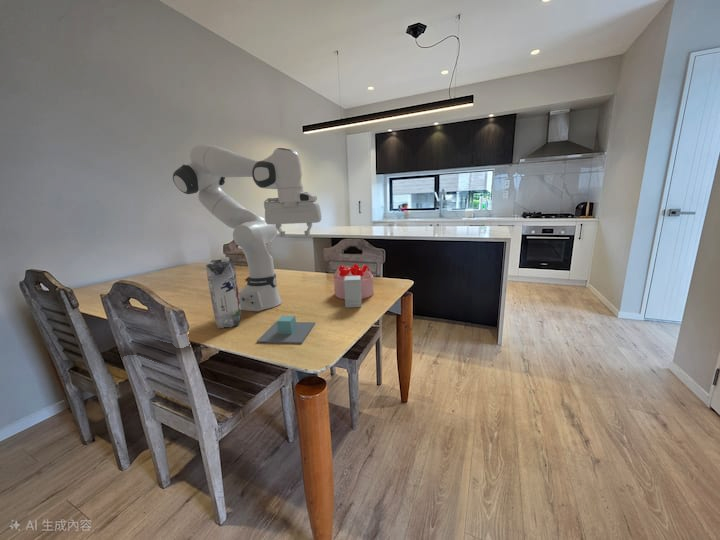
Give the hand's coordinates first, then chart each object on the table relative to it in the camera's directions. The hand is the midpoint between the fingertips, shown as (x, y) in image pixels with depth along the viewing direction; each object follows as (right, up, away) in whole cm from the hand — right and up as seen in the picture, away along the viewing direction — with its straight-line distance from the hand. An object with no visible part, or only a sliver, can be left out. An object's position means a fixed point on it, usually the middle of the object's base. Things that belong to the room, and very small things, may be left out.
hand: (294, 236), depth 104 cm
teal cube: (-3, -35, 0) cm, 35 cm away
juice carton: (-28, -34, +10) cm, 46 cm away
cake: (+21, -25, +40) cm, 51 cm away
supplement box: (+21, -28, +25) cm, 43 cm away
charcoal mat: (-3, -35, 0) cm, 35 cm away
